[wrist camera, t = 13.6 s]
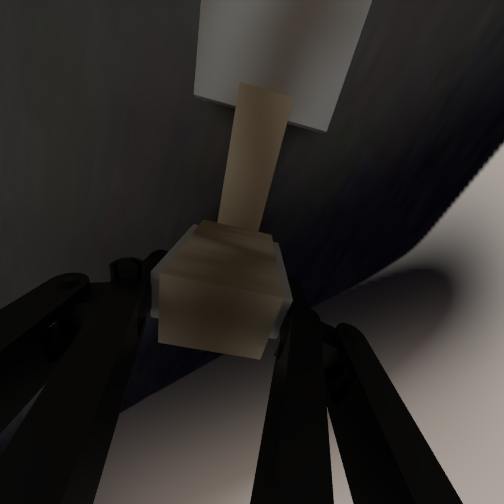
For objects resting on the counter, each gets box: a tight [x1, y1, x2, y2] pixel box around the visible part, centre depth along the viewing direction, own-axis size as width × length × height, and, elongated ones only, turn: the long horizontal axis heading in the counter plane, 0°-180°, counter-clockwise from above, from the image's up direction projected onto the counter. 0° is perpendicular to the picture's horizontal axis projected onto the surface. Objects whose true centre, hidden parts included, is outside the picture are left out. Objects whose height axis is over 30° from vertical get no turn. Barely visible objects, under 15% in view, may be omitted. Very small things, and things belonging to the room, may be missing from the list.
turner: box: [158, 0, 372, 359], centre depth 11 cm, size 8×23×8 cm, turn 167°
